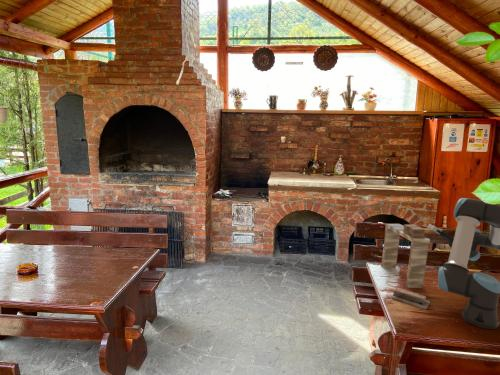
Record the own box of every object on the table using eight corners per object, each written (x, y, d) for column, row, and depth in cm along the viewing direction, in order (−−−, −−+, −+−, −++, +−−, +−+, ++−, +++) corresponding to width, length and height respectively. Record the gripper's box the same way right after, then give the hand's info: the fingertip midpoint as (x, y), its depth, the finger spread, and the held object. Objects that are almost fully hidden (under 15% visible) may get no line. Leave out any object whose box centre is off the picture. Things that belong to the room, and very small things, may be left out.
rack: (423, 287, 207) (430, 239, 201) (407, 287, 205) (414, 239, 200) (394, 265, 238) (399, 223, 232) (380, 266, 236) (385, 223, 231)
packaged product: (391, 290, 191) (397, 284, 199) (390, 298, 192) (396, 292, 200) (427, 301, 180) (431, 295, 188) (426, 310, 181) (430, 303, 189)
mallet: (446, 237, 206) (448, 229, 205) (412, 237, 203) (414, 229, 202) (435, 232, 216) (436, 224, 215) (403, 232, 213) (404, 224, 212)
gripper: (463, 254, 207) (435, 235, 202) (445, 245, 222) (419, 227, 217) (471, 244, 206) (443, 225, 201) (452, 235, 221) (426, 217, 216)
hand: (430, 226), depth 209 cm, fingers closed on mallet, 2 cm apart
